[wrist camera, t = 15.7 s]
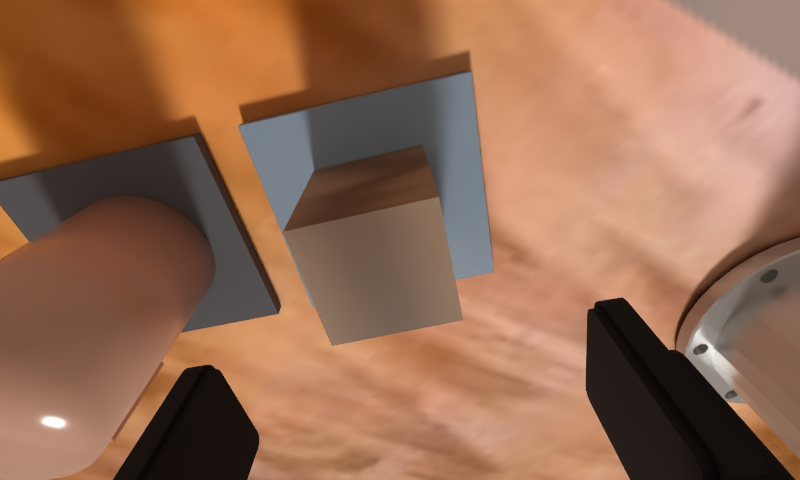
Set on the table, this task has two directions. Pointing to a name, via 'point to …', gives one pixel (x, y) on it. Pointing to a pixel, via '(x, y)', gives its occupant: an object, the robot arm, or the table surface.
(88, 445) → the pinkish brown rounded piece
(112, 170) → the dark grey square slab
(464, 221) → the slate mat
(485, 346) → the table surface
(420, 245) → the block
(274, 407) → the table surface
